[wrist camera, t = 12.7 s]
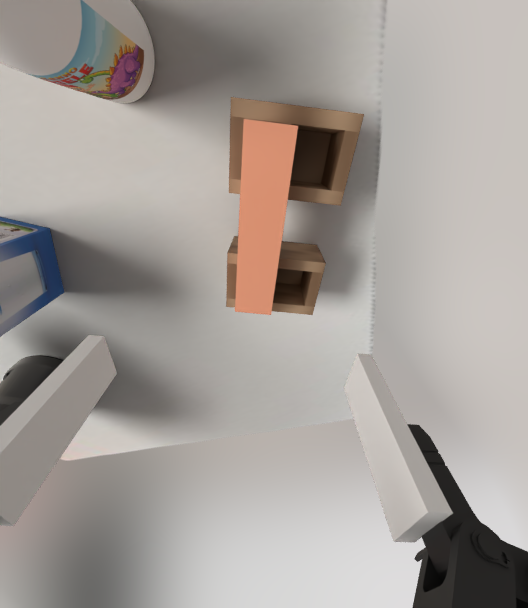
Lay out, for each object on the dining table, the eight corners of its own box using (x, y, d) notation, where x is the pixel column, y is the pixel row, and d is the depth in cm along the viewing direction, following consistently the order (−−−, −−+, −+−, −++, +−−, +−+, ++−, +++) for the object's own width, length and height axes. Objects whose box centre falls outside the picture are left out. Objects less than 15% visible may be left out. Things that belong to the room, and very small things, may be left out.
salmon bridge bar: (270, 284, 33) (270, 314, 27) (241, 281, 33) (234, 311, 27) (291, 132, 24) (298, 125, 18) (250, 126, 24) (243, 118, 18)
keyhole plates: (232, 283, 35) (226, 306, 30) (239, 108, 24) (231, 97, 19) (306, 291, 35) (312, 314, 30) (344, 121, 25) (364, 114, 20)
